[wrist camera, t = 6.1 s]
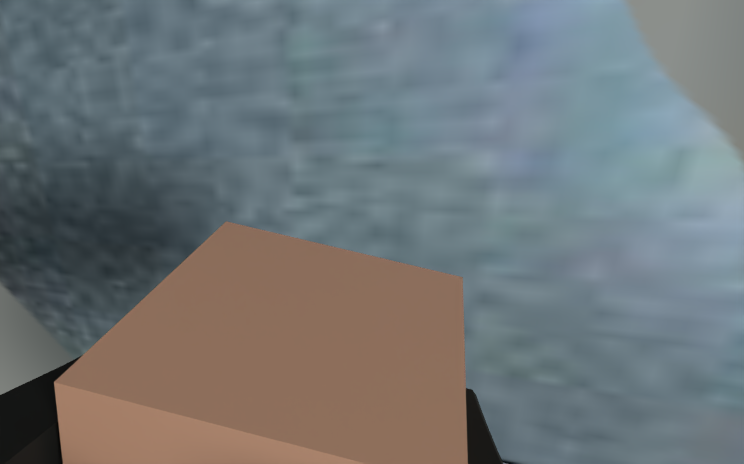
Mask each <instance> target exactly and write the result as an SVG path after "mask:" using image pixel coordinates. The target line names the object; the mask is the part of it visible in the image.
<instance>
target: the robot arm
mask: <svg viewBox="0 0 744 464" xmlns="http://www.w3.org/2000/svg"><path fill="white" fill-rule="evenodd" d="M82 356H83V355H82ZM82 356H80V357H82ZM80 357H78V358H76V359H75V360H73V361H71V362H69V363H67V364H65V365H63V366H61V367H59V368H57V369H55V370H53V371H50V372H48V373H46V374H44V375H42V376H40V377H38V378H36V379H33V380H32V381H30V382H27V383H25V384H23V385H21V386H19V387H16V388H14V389H12V390H10V391H8V392H6V393H4V394H2V395H0V464H63V460H62V451H61V442H60V433H59V423H58V414H57V405H56V396H55V387H54V382H55V381H56V380H57V379H58V378H59V377H60V376H61V375H62V374H63V373H64V372H65V371H67V370H68V369H69V368H70V367H71V366H72V365H73V364H74V363H75V362H76V361H77V360H78V359H79V358H80ZM466 418H467V453H468V464H507V463H503V462H502V460H501V457H500V455H499V453H498V451H497V448H496V446H495V443H494V441H493V439H492V436H491V434H490V431H489V429H488V426H487V424H486V421H485V418H484V416H483V413H482V410H481V408H480V405H479V402H478V399H477V397H476V395H475V393H474V392H473V390H471V389H467V388H466Z"/></svg>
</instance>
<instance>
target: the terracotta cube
mask: <svg viewBox="0 0 744 464" xmlns="http://www.w3.org/2000/svg"><path fill="white" fill-rule="evenodd" d="M54 387H55V396H56V405H57V414H58V423H59V433H60V442H61V451H62V460H63V464H468V453H467V418H466V382H465V347H464V311H463V277H459V276H455V275H451V274H446V273H442V272H438V271H434V270H429V269H425V268H421V267H417V266H412V265H408V264H404V263H400V262H395V261H391V260H387V259H383V258H378V257H374V256H370V255H366V254H362V253H357V252H353V251H349V250H345V249H340V248H336V247H332V246H328V245H323V244H319V243H315V242H311V241H306V240H302V239H298V238H294V237H290V236H285V235H281V234H277V233H273V232H268V231H264V230H260V229H256V228H251V227H247V226H243V225H239V224H234V223H230V222H225V223H224V224H223V225H222V226H221V227H220V228H219V229H218V230H217V231H215V232H214V233H213V234H212V235H211V236H210V237H209V238H208V239H207V240H206V241H205V242H204V243H203V244H202V245H200V246H199V247H198V248H197V249H196V250H195V251H194V252H193V253H192V254H191V255H190V256H189V257H188V258H187V259H185V260H184V261H183V262H182V263H181V264H180V265H179V266H178V267H177V268H176V269H175V270H174V271H173V272H172V273H170V274H169V275H168V276H167V277H166V278H165V279H164V280H163V281H162V282H161V283H160V284H159V285H158V286H157V287H155V288H154V289H153V290H152V291H151V292H150V293H149V294H148V295H147V296H146V297H145V298H144V299H143V300H142V301H140V302H139V303H138V304H137V305H136V306H135V307H134V308H133V309H132V310H131V311H130V312H129V313H128V314H127V315H125V316H124V317H123V318H122V319H121V320H120V321H119V322H118V323H117V324H116V325H115V326H114V327H113V328H112V329H110V330H109V331H108V332H107V333H106V334H105V335H104V336H103V337H102V338H101V339H100V340H99V341H98V342H97V343H95V344H94V345H93V346H92V347H91V348H90V349H89V350H88V351H87V352H86V353H85V354H84V355H83V356H82V357H80V358H79V359H78V360H77V361H76V362H75V363H74V364H73V365H72V366H71V367H70V368H69V369H68V370H67V371H65V372H64V373H63V374H62V375H61V376H60V377H59V378H58V379H57V380H56V381H55V382H54Z"/></svg>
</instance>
